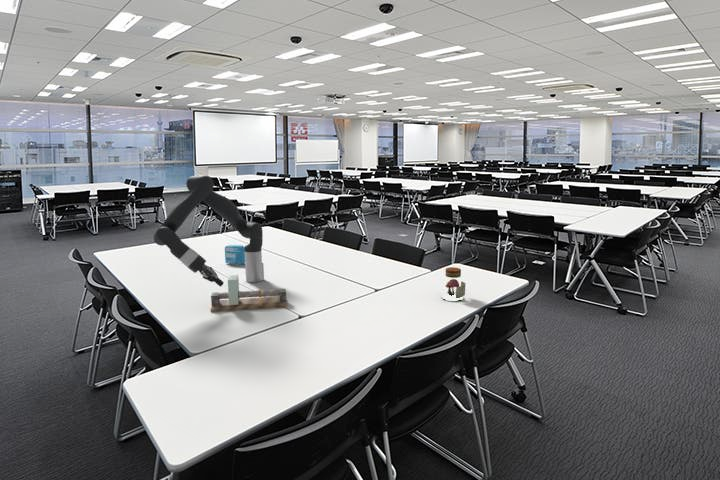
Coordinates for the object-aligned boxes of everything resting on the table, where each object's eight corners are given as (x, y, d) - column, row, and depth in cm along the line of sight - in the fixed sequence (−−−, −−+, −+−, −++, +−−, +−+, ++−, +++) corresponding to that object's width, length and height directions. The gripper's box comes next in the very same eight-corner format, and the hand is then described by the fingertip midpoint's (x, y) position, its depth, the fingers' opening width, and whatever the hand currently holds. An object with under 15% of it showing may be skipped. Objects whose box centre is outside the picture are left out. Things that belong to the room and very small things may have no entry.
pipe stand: (210, 311, 202) (209, 296, 200) (214, 303, 213) (213, 288, 212) (286, 307, 208) (286, 292, 206) (286, 299, 219) (285, 284, 218)
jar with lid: (439, 302, 215) (440, 271, 212) (441, 294, 227) (442, 265, 224) (464, 303, 212) (465, 273, 209) (464, 295, 224) (466, 266, 221)
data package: (225, 264, 289) (224, 245, 287) (229, 262, 294) (228, 244, 291) (242, 265, 286) (241, 246, 284) (245, 263, 291) (244, 245, 288)
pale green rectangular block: (229, 305, 205) (227, 280, 202) (231, 299, 212) (229, 275, 210) (238, 304, 205) (236, 279, 203) (239, 299, 213) (238, 275, 211)
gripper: (195, 257, 195) (226, 283, 200) (200, 251, 208) (229, 275, 213) (183, 270, 195) (214, 295, 200) (189, 262, 208) (218, 286, 213)
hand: (222, 284), depth 206 cm, fingers closed
